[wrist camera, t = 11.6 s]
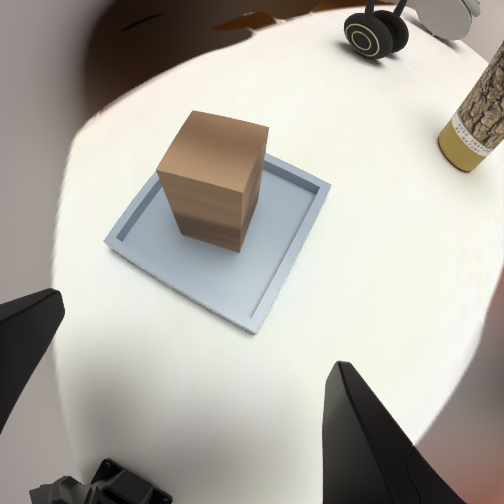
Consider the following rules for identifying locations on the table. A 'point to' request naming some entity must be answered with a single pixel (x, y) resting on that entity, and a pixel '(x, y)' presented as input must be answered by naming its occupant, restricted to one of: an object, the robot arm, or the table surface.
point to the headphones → (377, 31)
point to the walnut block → (214, 177)
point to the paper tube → (477, 119)
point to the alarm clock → (447, 17)
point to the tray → (220, 259)
